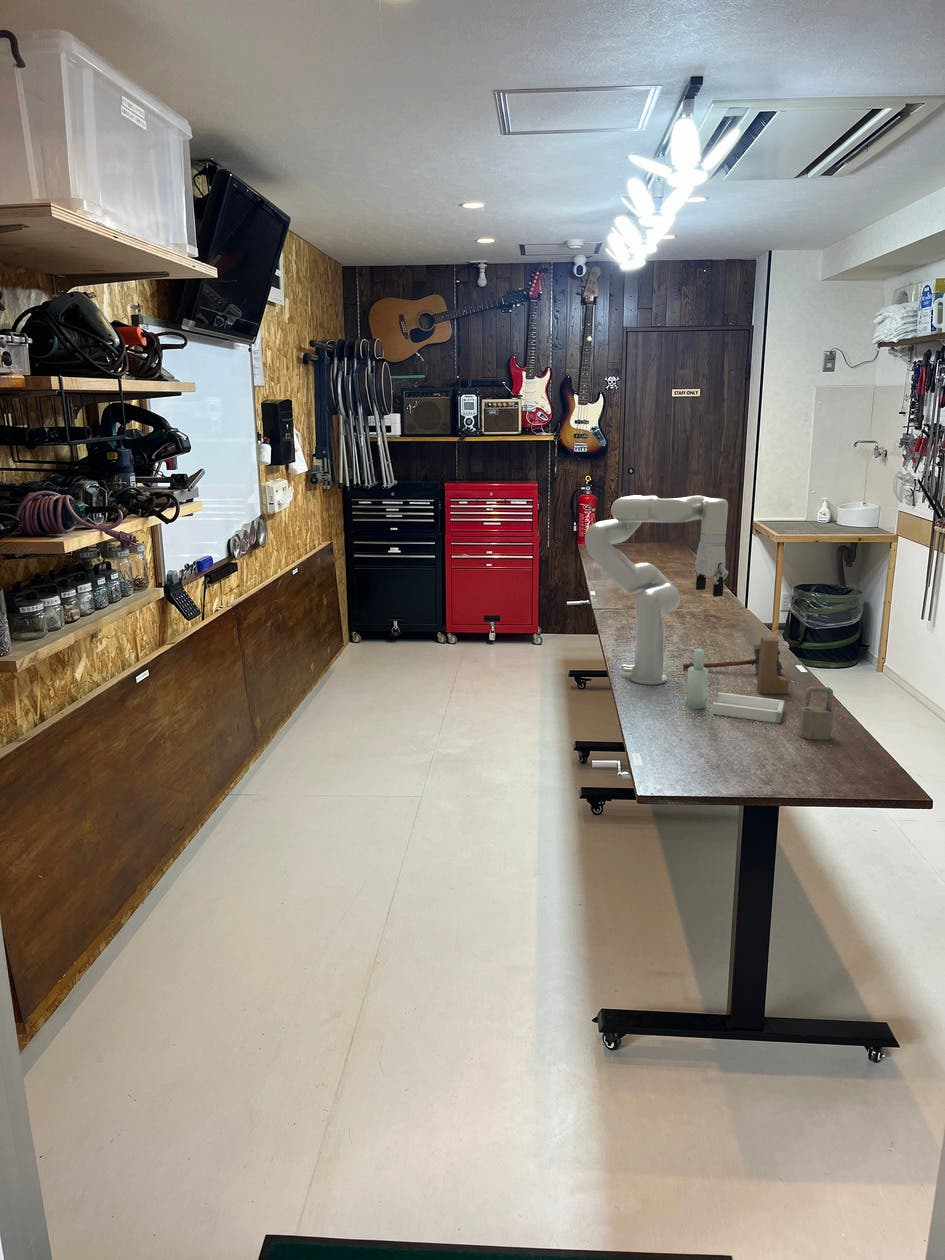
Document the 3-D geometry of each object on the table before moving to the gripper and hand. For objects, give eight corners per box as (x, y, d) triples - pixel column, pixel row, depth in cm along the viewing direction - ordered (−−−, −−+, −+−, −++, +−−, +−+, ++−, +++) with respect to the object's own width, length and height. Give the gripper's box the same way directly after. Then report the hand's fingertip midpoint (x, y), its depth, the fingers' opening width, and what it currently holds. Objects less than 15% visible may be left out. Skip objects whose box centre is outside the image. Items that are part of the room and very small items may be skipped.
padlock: (798, 733, 259) (803, 684, 255) (827, 734, 258) (833, 685, 254) (801, 738, 255) (806, 688, 251) (831, 740, 254) (837, 689, 250)
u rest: (712, 714, 274) (713, 703, 273) (718, 702, 284) (719, 692, 283) (780, 723, 267) (781, 712, 266) (783, 711, 277) (784, 700, 276)
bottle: (684, 707, 280) (688, 651, 275) (687, 701, 285) (691, 646, 280) (704, 710, 278) (708, 654, 273) (707, 704, 283) (711, 648, 278)
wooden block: (783, 689, 296) (788, 636, 291) (788, 694, 292) (793, 640, 287) (756, 689, 296) (760, 636, 291) (760, 694, 292) (765, 640, 287)
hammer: (783, 674, 307) (780, 646, 305) (685, 686, 315) (681, 659, 313) (781, 668, 313) (777, 641, 311) (685, 680, 321) (681, 654, 319)
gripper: (687, 535, 286) (684, 587, 291) (718, 544, 270) (713, 599, 275) (708, 534, 288) (704, 586, 293) (739, 542, 272) (735, 598, 277)
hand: (708, 592), depth 284 cm, fingers open, 9 cm apart
